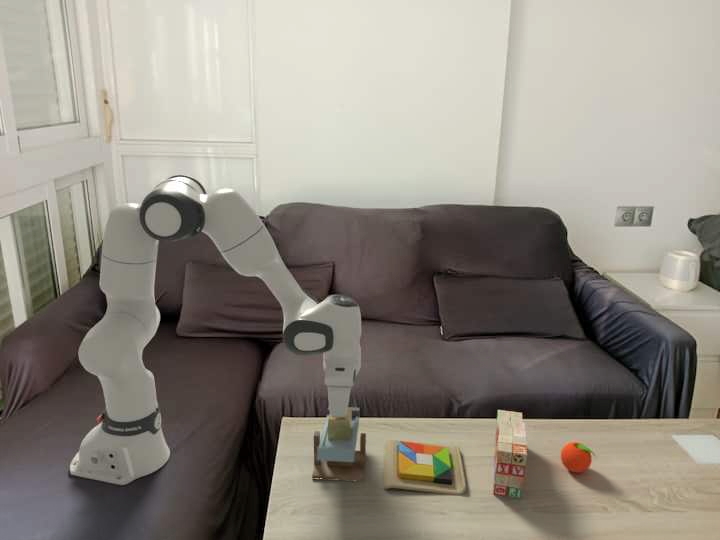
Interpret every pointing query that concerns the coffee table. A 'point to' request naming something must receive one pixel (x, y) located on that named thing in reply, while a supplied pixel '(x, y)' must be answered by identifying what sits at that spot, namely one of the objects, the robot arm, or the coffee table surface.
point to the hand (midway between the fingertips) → (341, 412)
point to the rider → (340, 427)
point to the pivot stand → (340, 464)
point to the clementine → (576, 457)
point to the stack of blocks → (509, 454)
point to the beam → (339, 442)
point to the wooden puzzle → (423, 467)
